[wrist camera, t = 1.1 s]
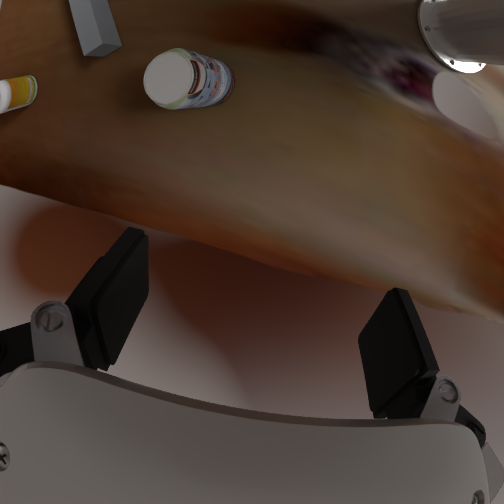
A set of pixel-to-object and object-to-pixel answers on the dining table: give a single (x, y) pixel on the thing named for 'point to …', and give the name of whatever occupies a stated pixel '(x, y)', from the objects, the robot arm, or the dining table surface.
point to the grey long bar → (95, 27)
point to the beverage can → (187, 80)
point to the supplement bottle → (17, 93)
